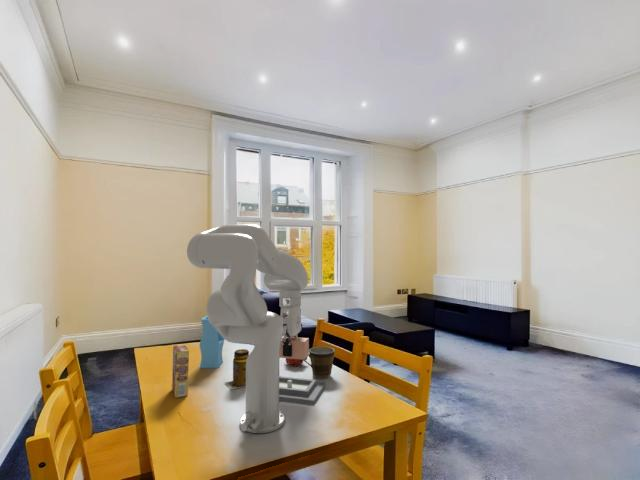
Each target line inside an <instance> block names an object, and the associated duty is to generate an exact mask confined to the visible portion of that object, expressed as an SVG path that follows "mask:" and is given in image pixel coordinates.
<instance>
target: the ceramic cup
mask: <svg viewBox="0 0 640 480" xmlns="http://www.w3.org/2000/svg"><path fill="white" fill-rule="evenodd" d="M308 357H309V359H310V363H309V362H308V360H303V362H305V363H306V364H307V365H308V366H310V368H311V371H312V376H313V378H315V379H320V380H325V379H329V378H330V377H331V375H332V370H333V362H334V359H335V349H334V348H332V347H331V346H330V347H328V346H315V347H311V348H309V356H308Z"/></svg>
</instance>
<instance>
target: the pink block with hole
mask: <svg viewBox="0 0 640 480" xmlns="http://www.w3.org/2000/svg"><path fill="white" fill-rule="evenodd" d="M286 338H287V339H288V340H289V337H286ZM309 339H310V338H309V337H292V339H291V345H292V356H291V357H287V356H283V344H282V339H281V344H280V359H281V358H282V359H286V358H290V359H301V360H305V359H306V358H307V359H308V357H309V349H310V344H309V343H310V340H309ZM305 361H306V360H305Z"/></svg>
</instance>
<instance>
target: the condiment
mask: <svg viewBox="0 0 640 480" xmlns="http://www.w3.org/2000/svg"><path fill="white" fill-rule="evenodd" d="M233 353H234V354H233V360H232V380H231V381H225V382H224V384H225V385H226V386H227V388H229V389H230V390H231V391H232V390H236V389H240V388H246V360H247V357H248V356H249V354H250V351H249V350H248V349H245V348H244V349H243V348H242V349H236V350H235V351H234V352H233Z"/></svg>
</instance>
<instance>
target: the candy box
mask: <svg viewBox="0 0 640 480" xmlns="http://www.w3.org/2000/svg"><path fill="white" fill-rule="evenodd" d="M172 349H173V350H172V375H171V376H172V380H171V381H172V382H171V383H172V384H171V389H172V392H173V395H174V397H175V399H177V398H183V397H188V391H189V362H190V350H189V348H188V347H187V345H186V344H177V345H173V347H172Z"/></svg>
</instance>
